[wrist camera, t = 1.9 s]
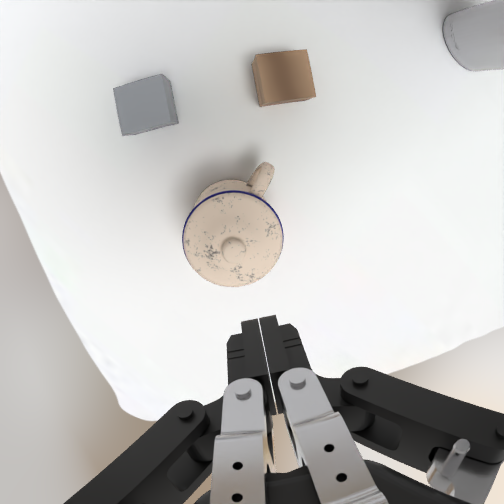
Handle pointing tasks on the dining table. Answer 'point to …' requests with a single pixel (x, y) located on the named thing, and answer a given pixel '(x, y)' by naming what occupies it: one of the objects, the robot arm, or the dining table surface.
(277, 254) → the teacup with lid
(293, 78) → the walnut block
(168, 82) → the slate-grey block
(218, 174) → the dining table surface
